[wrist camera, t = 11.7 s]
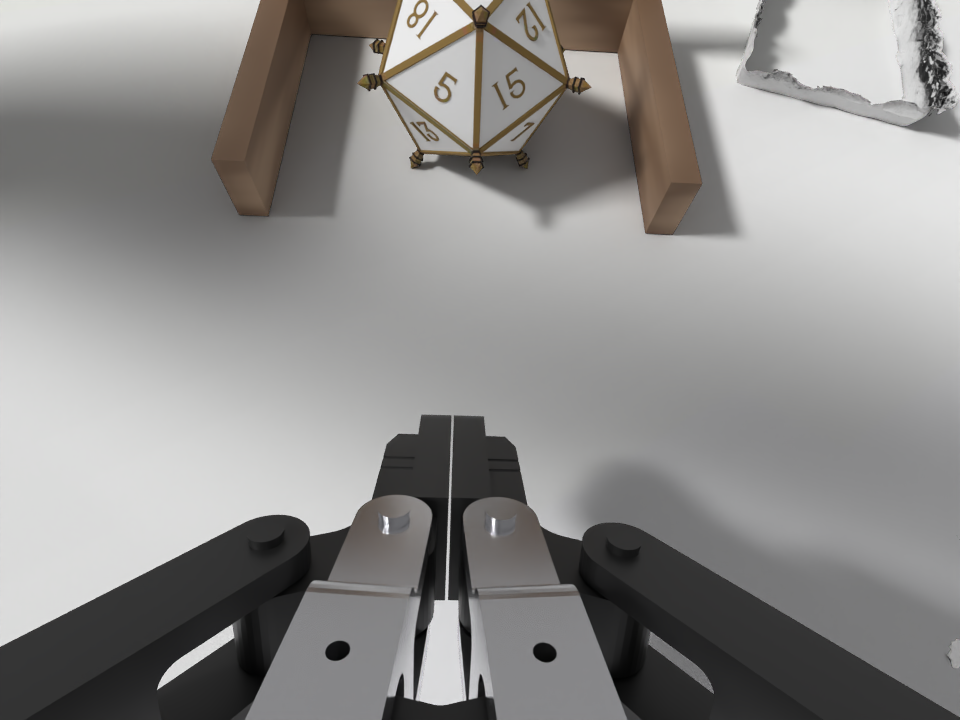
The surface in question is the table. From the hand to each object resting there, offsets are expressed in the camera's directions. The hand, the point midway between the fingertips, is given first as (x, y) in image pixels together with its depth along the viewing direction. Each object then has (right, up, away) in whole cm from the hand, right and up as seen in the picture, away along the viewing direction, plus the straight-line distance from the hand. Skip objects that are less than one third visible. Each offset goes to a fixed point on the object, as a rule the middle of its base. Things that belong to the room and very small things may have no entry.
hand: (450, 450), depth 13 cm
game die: (0, +12, +12) cm, 17 cm away
